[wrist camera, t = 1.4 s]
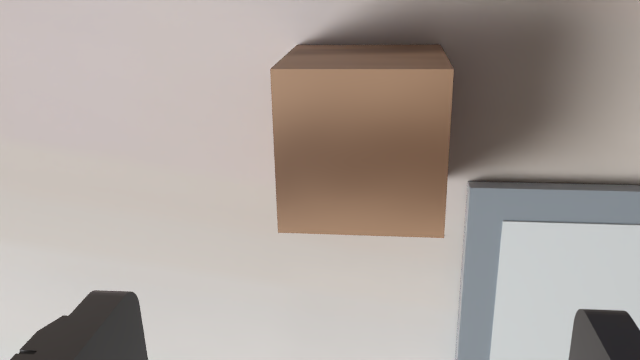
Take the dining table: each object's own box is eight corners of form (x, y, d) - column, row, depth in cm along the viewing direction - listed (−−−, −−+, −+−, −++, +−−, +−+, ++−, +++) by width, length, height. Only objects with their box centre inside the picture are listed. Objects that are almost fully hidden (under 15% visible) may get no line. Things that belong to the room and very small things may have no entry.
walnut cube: (297, 44, 25) (270, 68, 20) (440, 44, 25) (453, 69, 19) (301, 176, 28) (278, 232, 22) (433, 179, 27) (443, 237, 21)
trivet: (468, 181, 27) (470, 188, 26) (758, 187, 25) (770, 195, 24) (452, 399, 31) (454, 412, 30) (701, 415, 29) (709, 428, 28)
